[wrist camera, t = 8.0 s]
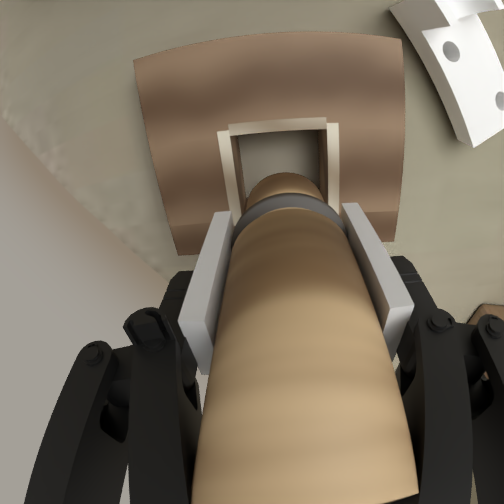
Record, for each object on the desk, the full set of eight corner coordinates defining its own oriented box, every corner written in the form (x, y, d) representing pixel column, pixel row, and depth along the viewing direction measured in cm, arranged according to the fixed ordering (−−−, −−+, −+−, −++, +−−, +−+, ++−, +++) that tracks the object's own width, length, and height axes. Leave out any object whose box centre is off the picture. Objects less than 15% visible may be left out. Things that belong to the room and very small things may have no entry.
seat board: (154, 61, 18) (132, 60, 15) (380, 43, 16) (401, 39, 13) (189, 231, 27) (178, 256, 23) (379, 218, 25) (394, 241, 22)
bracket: (384, 10, 14) (428, -10, 8) (437, -9, 12) (486, -24, 5) (452, 137, 20) (502, 164, 14) (495, 110, 17) (547, 130, 11)
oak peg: (233, 169, 14) (138, 495, 3) (330, 162, 14) (472, 469, 2) (245, 250, 17) (214, 516, 5) (329, 245, 17) (384, 505, 5)
